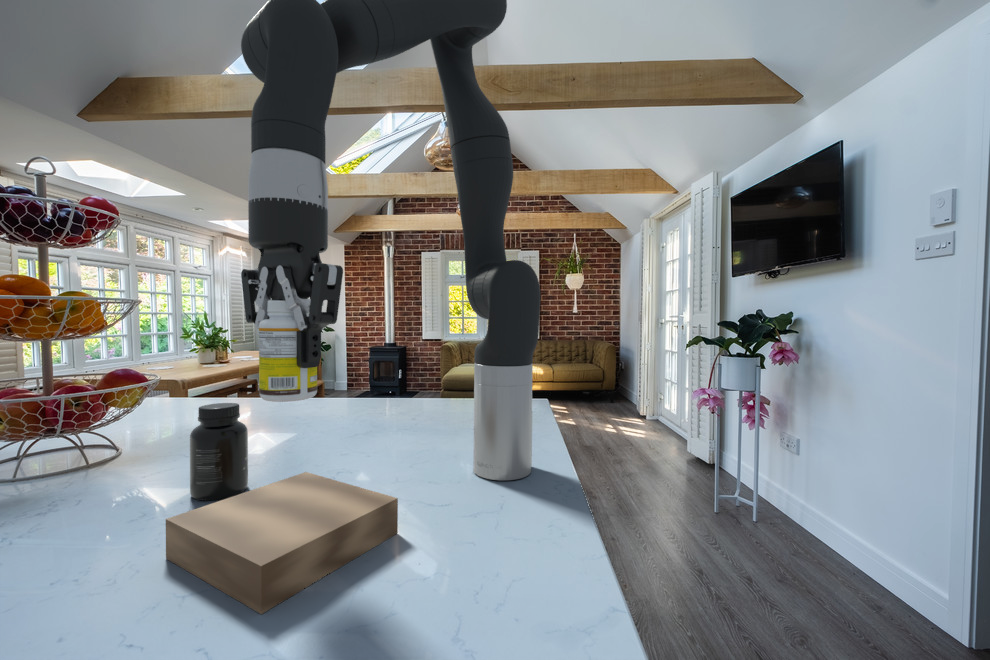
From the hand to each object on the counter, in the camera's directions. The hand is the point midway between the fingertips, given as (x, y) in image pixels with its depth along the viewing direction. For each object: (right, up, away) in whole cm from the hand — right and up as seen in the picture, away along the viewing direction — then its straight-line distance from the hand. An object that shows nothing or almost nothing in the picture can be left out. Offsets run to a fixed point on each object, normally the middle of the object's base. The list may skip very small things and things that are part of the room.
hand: (289, 364), depth 47 cm
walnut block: (0, -19, 0) cm, 19 cm away
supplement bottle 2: (0, -4, 0) cm, 4 cm away
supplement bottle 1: (-16, -19, +14) cm, 29 cm away
